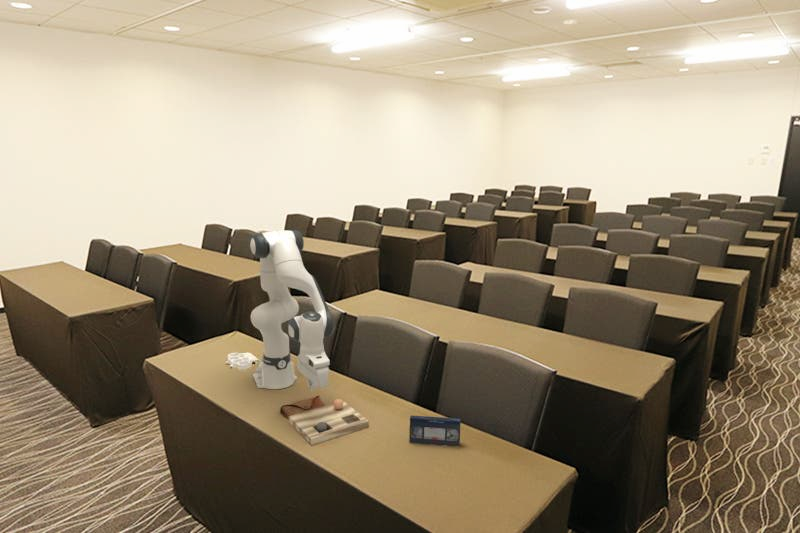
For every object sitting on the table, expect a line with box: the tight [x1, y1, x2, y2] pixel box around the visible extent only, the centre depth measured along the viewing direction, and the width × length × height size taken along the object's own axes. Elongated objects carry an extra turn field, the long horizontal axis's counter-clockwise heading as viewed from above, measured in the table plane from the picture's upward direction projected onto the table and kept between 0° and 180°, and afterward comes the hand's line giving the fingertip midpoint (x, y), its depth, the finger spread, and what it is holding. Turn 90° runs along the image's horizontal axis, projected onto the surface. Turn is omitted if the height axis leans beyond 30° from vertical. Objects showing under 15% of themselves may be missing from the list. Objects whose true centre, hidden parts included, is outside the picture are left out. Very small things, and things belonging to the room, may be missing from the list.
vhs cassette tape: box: [408, 415, 462, 447], centre depth 187 cm, size 18×3×10 cm, turn 82°
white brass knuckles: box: [224, 352, 261, 370], centre depth 256 cm, size 3×18×15 cm
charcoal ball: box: [316, 422, 327, 433], centre depth 193 cm, size 4×4×4 cm
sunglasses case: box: [279, 395, 326, 421], centre depth 210 cm, size 18×7×7 cm, turn 128°
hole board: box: [288, 400, 370, 446], centre depth 199 cm, size 20×24×2 cm
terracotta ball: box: [332, 398, 344, 409], centre depth 207 cm, size 4×4×4 cm
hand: (312, 389), depth 196 cm, fingers closed
